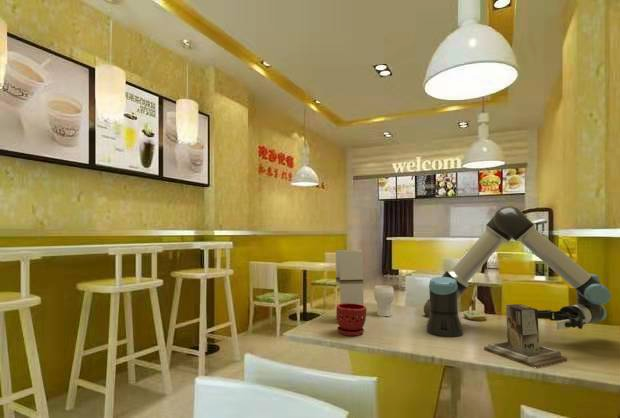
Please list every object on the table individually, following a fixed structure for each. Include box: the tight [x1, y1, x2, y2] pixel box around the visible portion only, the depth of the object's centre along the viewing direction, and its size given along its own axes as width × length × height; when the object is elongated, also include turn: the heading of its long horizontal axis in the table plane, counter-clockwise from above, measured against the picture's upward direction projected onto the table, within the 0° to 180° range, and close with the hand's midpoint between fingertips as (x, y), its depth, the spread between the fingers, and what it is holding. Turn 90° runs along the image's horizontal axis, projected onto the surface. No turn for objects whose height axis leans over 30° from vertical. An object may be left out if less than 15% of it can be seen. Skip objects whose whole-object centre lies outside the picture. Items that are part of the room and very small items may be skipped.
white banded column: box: [335, 249, 364, 320], centre depth 179 cm, size 11×11×35 cm
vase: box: [423, 298, 430, 318], centre depth 186 cm, size 7×7×9 cm
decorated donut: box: [462, 309, 487, 322], centre depth 181 cm, size 10×11×4 cm
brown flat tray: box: [483, 340, 568, 369], centre depth 127 cm, size 20×16×2 cm
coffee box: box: [505, 303, 540, 356], centre depth 128 cm, size 9×6×16 cm
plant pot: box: [336, 303, 367, 336], centre depth 157 cm, size 13×13×12 cm
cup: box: [373, 285, 395, 317], centre depth 190 cm, size 11×11×15 cm
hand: (538, 320), depth 132 cm, fingers open, 13 cm apart
